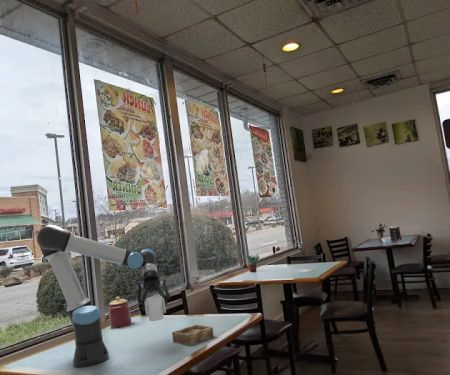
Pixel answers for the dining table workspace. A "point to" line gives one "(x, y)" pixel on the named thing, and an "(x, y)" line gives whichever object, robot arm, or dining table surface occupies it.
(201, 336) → the brown wooden tray
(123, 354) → the dining table surface
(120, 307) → the canister
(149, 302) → the white cup
